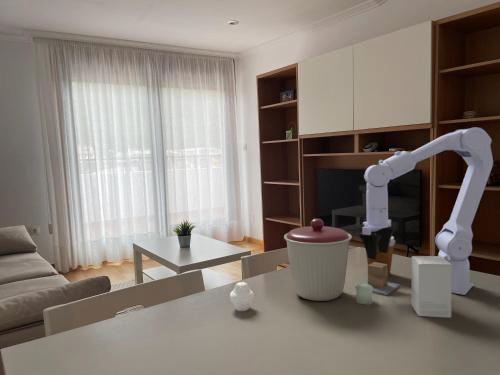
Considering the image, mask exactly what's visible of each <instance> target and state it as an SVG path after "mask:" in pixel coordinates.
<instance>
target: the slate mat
mask: <svg viewBox="0 0 500 375" xmlns="http://www.w3.org/2000/svg"><path fill="white" fill-rule="evenodd" d="M360 284H368V278H367V279H366V280H364V281H363V282H361V283H360ZM400 286H401V285H400V284H399V283H394V282H390V281H387V286H385V287H384V288H382V289H380V288H375V287H372V294H378V295H381V294H382V296H385V297H387V296H389V295H390V294H391V293H392V292H394V291H395V290H396V289H398V288H399V287H400Z"/></svg>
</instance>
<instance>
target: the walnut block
mask: <svg viewBox="0 0 500 375" xmlns="http://www.w3.org/2000/svg"><path fill="white" fill-rule="evenodd" d="M367 279H368V284H369V285H371V286H372V287H375V288H380V289H382V288H384V287H385V286H387V282H388V277H387V264H382V263H376V262H373V263H371V264H369V265H368V264H367Z"/></svg>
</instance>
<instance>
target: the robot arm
mask: <svg viewBox="0 0 500 375" xmlns="http://www.w3.org/2000/svg"><path fill="white" fill-rule="evenodd" d="M491 144H492V138H491V137H490V136H489V134H488V133H487V131H485V130H484V129H483V128H482V127H476V126H475V127H474V126H473V127H471V128H467V129H466V128H464V129H463V128H462V129H456V130H455V131H453V132H448V133H446V134H444V135H441V136H439V137H437V138H436V139H434V140H432V141H430V142H428V143H425V144H424V145H422V146H421V147H418V148H417V149H415V150H413V151H411V152H409V151H405V150H402V151H400V150H398V151H396V152H394V153H393V154H394V155H392V156H391V157H389V158H386V159H384V160H383V159H379V160H378V164H372V165H370V166H368V167H367V168H366V170H365V172H364V174H363V178H364V180H365V182H366V187H365V188H366V192H365V193H366V194H365V195H366V196H365V197H366V199H365V200H366V202H365V203H366V206H365V207H366V221H363V222H362V225H363V227H362V228H361V229H362V231H361V232H359V234H358V235H359V238H360V239H361V241H362V243H363V245H364V249H365V253H367V256H366V258H367V257H368V258H370V259H376V256H377V248H379V252H382V253H387V251H388V247H389V243H390V239H391V237H392V236H393V234H394V233H395V231H396V229H395V227H392V219H389V194H388V192H389V191H388V184H389V182H390V180H394V179H396V178H398V177H401V176H402V175H404V174H407V173H408V172H409V173H410V171H411V172H412V171H413V170H414V169H415V167H416V164H417V163H418V162H422V161H423V160H425V159H428V158H430V157H432V156H435V155H436V154H439V153H441V152H444V151H453V152H455V153H457V154H458V155H459V156H461V157H462V159H463V160H464V161H465V163H466V164H467V166H468V167H467V169H466V173H465V175H464V178H463V181H462V183H461V186H460V190H459V192H458V195H457V198H456V201H455V204H454V206H453V209H452V212H451V214H450V217H449V220H448V221H447V222H445V224H443V226H442V229H441V230H440V231H438V233H437V234H436V236H435V241H434V242H435V245H436V247H437V248H438V250H439V252H438V254H437V256H442V257H443V258H444V259H446V260H447V261H448V262H449V263H450V264H452V283H451V294H458V295H462V296H463V295H467V293H468V292H469V291H470V290H471V289H472V287H473V286H474V283H473V282H471V283H470V266H471V265H470V260H469V256H470V255H471V254H472V251H473V245H472V242H473V236H474V234H473V231H472V224H473V221H474V219H475V216H476V213H477V210H478V208H479V205H480V201H481V199H482V196H483V194H484V191H485V189H486V185H487V183H488V179H489V177H490V174H491V171H492V168H493V166H494V160H493V159H494V158H493V152H492V148H491ZM375 234H376V235H375Z"/></svg>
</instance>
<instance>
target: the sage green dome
mask: <svg viewBox="0 0 500 375" xmlns="http://www.w3.org/2000/svg"><path fill="white" fill-rule="evenodd" d="M355 289H356V291H355V292H356V293H355V294H356V295H355V296H356V297H355V298H356V300H355V301H356V303H358V304H360V305H371V304H373V292H372V286H371V285H369V284H361V283H359V284H356V286H355Z"/></svg>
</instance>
